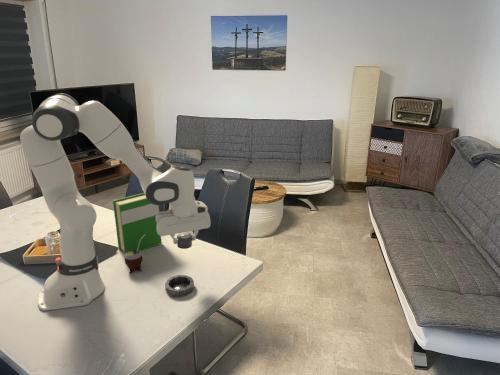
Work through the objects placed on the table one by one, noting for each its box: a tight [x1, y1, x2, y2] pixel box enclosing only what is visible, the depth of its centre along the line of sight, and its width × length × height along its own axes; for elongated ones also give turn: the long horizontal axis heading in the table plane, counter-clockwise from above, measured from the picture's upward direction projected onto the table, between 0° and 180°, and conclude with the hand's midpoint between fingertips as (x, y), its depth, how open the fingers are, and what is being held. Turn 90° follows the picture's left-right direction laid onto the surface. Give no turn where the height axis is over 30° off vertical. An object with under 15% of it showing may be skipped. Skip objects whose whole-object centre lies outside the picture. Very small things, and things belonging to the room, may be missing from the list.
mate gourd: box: [124, 234, 146, 274], centre depth 154 cm, size 8×8×15 cm
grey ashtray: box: [164, 274, 195, 298], centre depth 144 cm, size 10×10×3 cm
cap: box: [176, 231, 193, 250], centre depth 145 cm, size 6×6×4 cm
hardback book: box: [112, 192, 163, 255], centre depth 171 cm, size 18×7×24 cm, turn 131°
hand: (184, 241), depth 145 cm, fingers closed on cap, 5 cm apart
